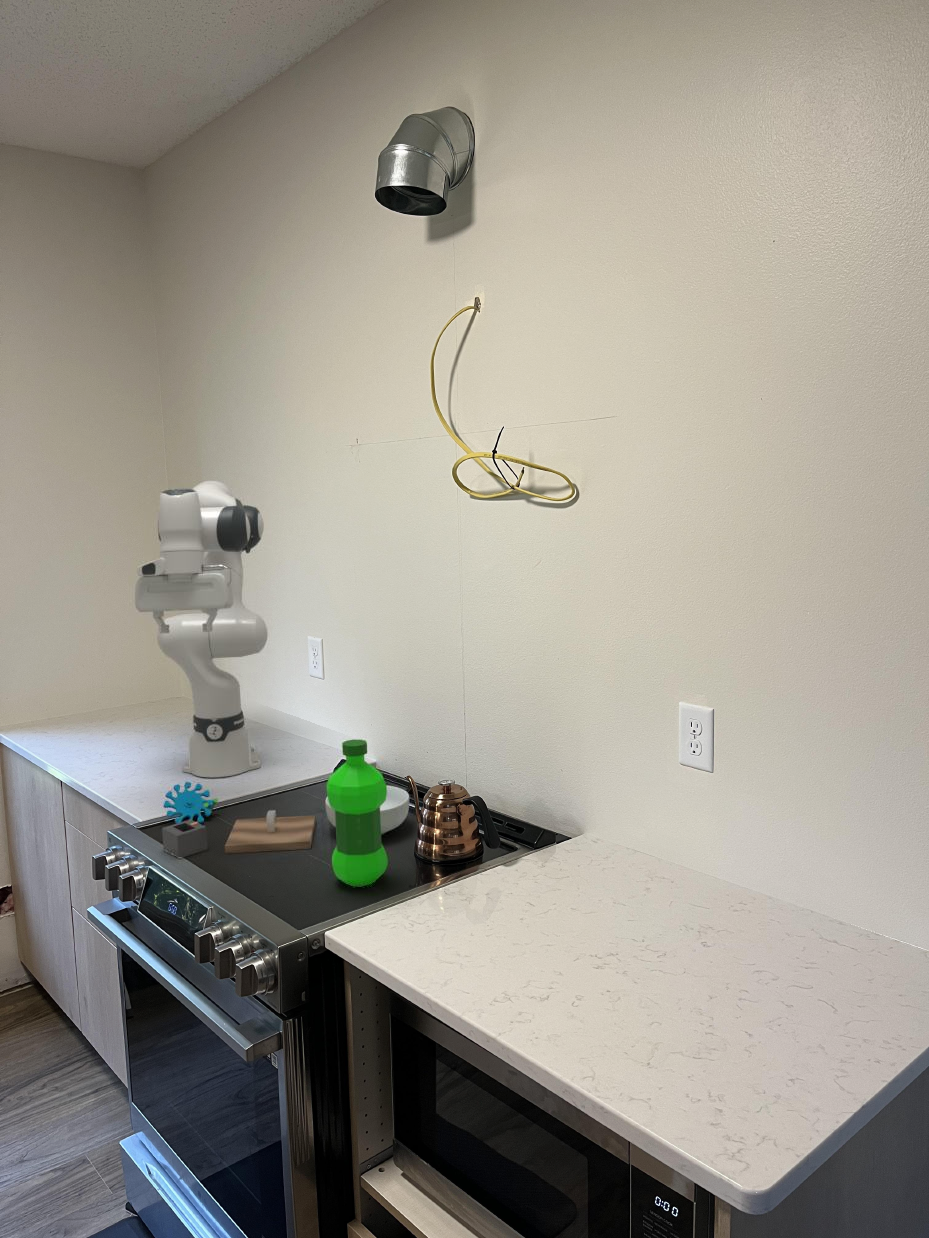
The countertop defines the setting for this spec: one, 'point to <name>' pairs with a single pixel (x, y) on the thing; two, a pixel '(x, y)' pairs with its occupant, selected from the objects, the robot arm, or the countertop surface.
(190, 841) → the gray open-top tub
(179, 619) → the robot arm
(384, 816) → the cereal bowl
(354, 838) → the plastic bottle
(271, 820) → the shaft
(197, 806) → the gear
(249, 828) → the shaft base
